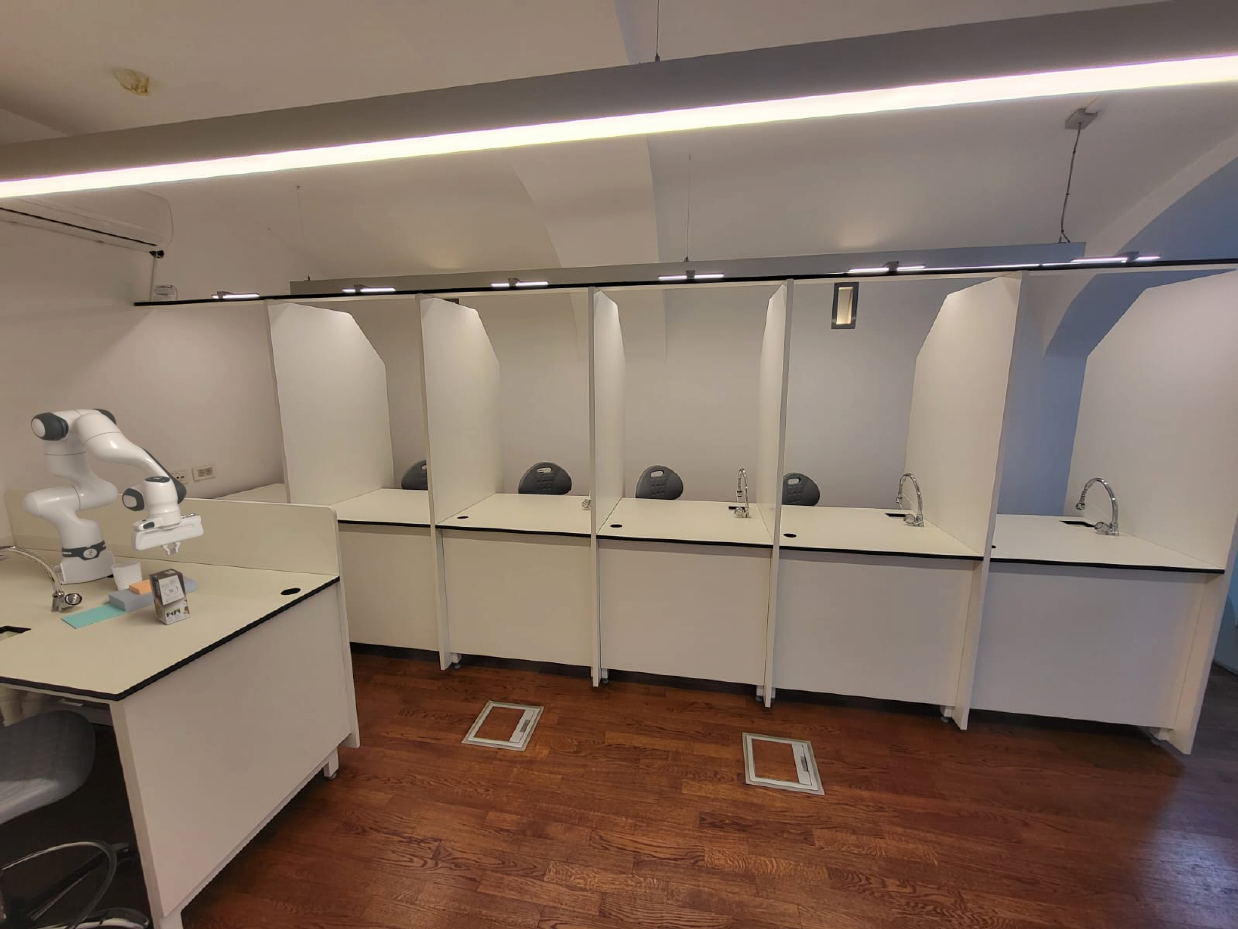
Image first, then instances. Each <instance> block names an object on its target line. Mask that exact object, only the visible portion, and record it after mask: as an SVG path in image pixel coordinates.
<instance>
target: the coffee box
mask: <svg viewBox="0 0 1238 929" xmlns="http://www.w3.org/2000/svg"><path fill="white" fill-rule="evenodd" d="M183 574H184V573H183V572H180V571H178V570H177V569H174V568H169V569H164V570H160V571H158V572H155V573H152V574H151V573H150V574H148V579H149V580H150V585H151V590H152V595H153V600H154V604H153V605H154V608H155V613H156V619H157V620H159V621H161V622H162V623H164V624H165V625H170V624H173V623H177V622H179V621H182V620H186V619H188V618H190V617H191V615H190V614H191V613H190V608H189V603H188V599H187V593H186V592H185V586H184V580H183V576H184V575H183Z"/></svg>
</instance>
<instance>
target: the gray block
mask: <svg viewBox="0 0 1238 929" xmlns="http://www.w3.org/2000/svg"><path fill="white" fill-rule="evenodd" d="M183 580H184V586H185V592H186V594H188V593H192V592H196V591H197V590H198V588H197V583H196V580H195V579H193V578H191V577H187V576H185V575H183ZM107 596H108V599H109V604H112V605H114V606H116V607H118V608H120V609H122V610H124V611H125V612H126V613H130V612H133V611H136V610H139V609H142V608H146V607H148V606H151V605H155V604H154V600H153V595H152V591H151V592H148V593H145V594H141V595H140V594H138V593H135V592H133V591H131V590H130V588H127V589H123V590H120V591H118V590H116V591H114V592H111V593H108V594H107ZM126 613H125V614H126Z"/></svg>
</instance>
